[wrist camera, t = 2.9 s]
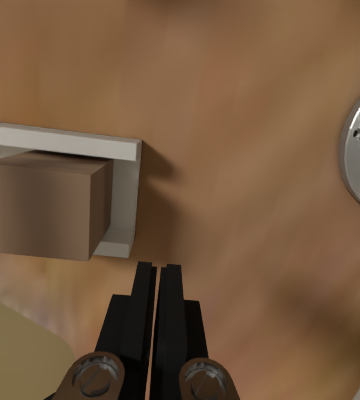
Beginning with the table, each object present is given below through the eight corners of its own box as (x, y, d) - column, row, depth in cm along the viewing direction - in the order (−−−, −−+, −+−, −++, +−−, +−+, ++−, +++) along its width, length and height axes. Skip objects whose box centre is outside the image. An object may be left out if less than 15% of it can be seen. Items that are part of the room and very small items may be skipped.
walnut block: (113, 158, 21) (90, 175, 15) (110, 224, 23) (88, 261, 17) (35, 149, 21) (-19, 162, 15) (37, 217, 22) (-10, 251, 17)
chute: (142, 139, 21) (136, 143, 18) (134, 240, 24) (128, 258, 21) (-121, 107, 20) (-173, 105, 17) (-99, 215, 23) (-141, 231, 20)
